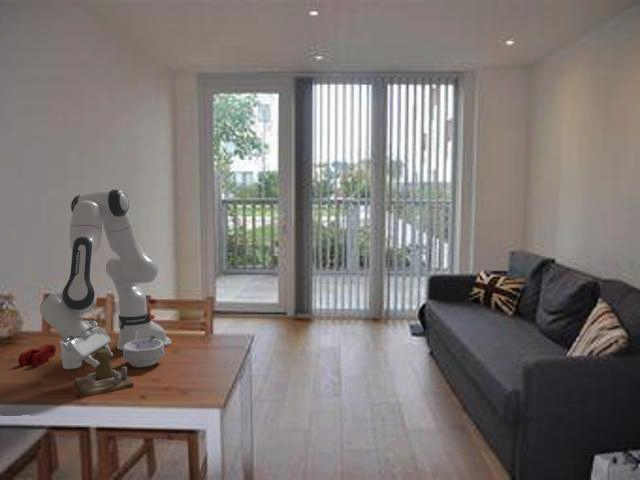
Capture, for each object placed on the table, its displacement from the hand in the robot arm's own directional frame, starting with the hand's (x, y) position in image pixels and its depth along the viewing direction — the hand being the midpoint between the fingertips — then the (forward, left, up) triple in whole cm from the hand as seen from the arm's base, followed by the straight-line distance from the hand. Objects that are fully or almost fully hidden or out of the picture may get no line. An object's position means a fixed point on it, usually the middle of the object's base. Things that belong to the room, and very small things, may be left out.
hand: (104, 361), depth 195 cm
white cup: (+6, -26, -8) cm, 28 cm away
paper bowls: (-18, -14, -9) cm, 24 cm away
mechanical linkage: (+16, -40, -9) cm, 44 cm away
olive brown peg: (0, -1, -7) cm, 7 cm away
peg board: (0, 0, -8) cm, 8 cm away
